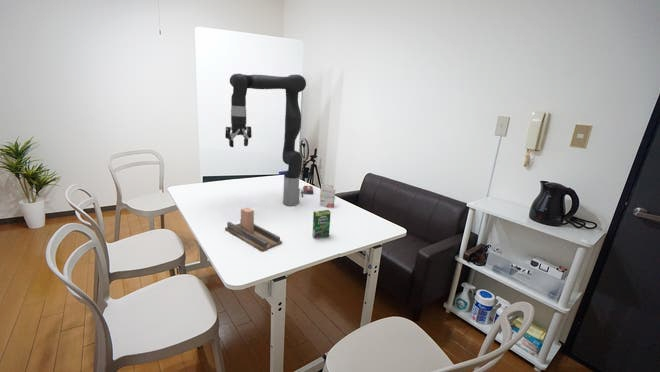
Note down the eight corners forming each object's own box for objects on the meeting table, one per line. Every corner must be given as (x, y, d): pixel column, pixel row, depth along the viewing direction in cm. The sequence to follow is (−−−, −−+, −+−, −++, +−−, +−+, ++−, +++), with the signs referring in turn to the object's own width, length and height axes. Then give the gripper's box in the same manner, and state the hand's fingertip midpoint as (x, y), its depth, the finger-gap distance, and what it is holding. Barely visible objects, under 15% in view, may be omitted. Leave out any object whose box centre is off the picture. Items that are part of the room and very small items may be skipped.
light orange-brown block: (247, 228, 140) (247, 207, 137) (253, 232, 137) (253, 210, 134) (240, 230, 137) (240, 209, 134) (247, 234, 134) (247, 212, 131)
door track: (244, 223, 147) (244, 217, 146) (282, 243, 131) (282, 236, 130) (225, 229, 139) (224, 223, 138) (262, 251, 123) (262, 244, 122)
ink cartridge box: (334, 205, 184) (336, 183, 179) (332, 208, 179) (334, 185, 175) (321, 203, 185) (323, 181, 181) (319, 206, 181) (320, 183, 176)
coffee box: (313, 238, 138) (315, 213, 134) (311, 236, 140) (313, 210, 137) (329, 236, 141) (331, 211, 138) (326, 234, 144) (329, 209, 140)
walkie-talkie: (300, 188, 213) (300, 197, 194) (300, 183, 211) (301, 191, 192) (312, 189, 214) (313, 198, 195) (312, 183, 212) (314, 192, 193)
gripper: (230, 115, 141) (231, 148, 146) (254, 116, 152) (254, 146, 157) (222, 114, 146) (222, 146, 150) (246, 114, 156) (246, 144, 161)
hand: (238, 146), depth 153 cm, fingers open, 8 cm apart
